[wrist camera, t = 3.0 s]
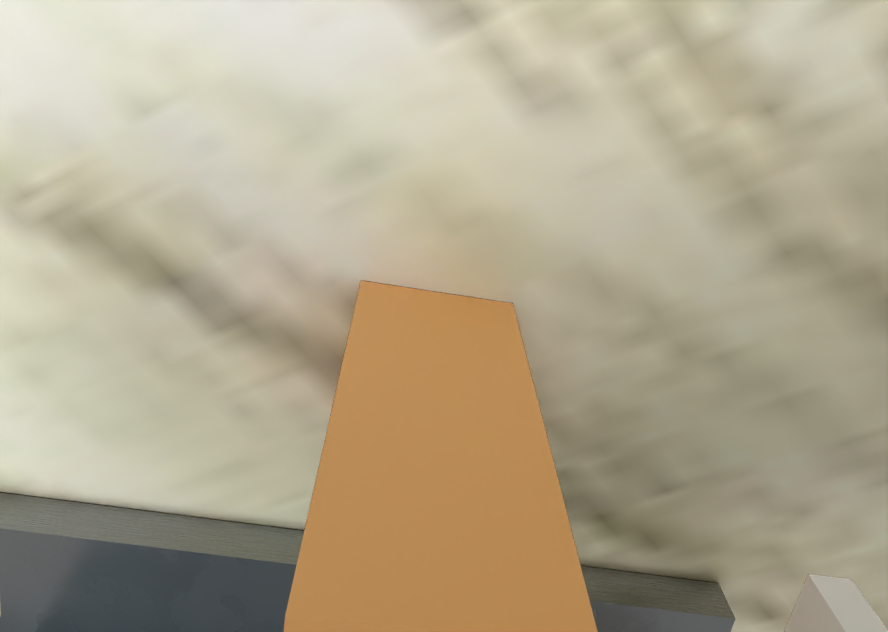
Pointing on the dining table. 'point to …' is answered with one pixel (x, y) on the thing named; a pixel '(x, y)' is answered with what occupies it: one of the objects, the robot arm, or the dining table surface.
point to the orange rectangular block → (436, 481)
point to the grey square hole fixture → (232, 576)
